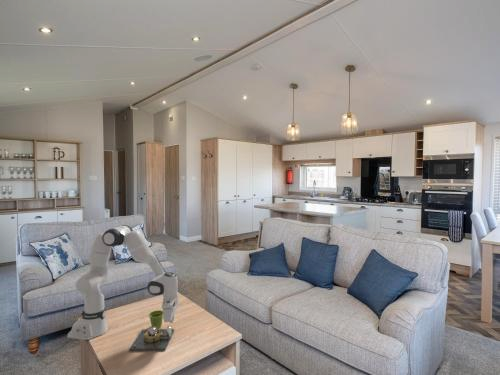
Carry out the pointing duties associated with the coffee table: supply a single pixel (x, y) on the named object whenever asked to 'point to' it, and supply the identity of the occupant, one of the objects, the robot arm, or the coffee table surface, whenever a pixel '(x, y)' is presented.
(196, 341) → the coffee table surface
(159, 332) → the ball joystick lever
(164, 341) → the flange plate
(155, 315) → the plant pot
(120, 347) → the coffee table surface
